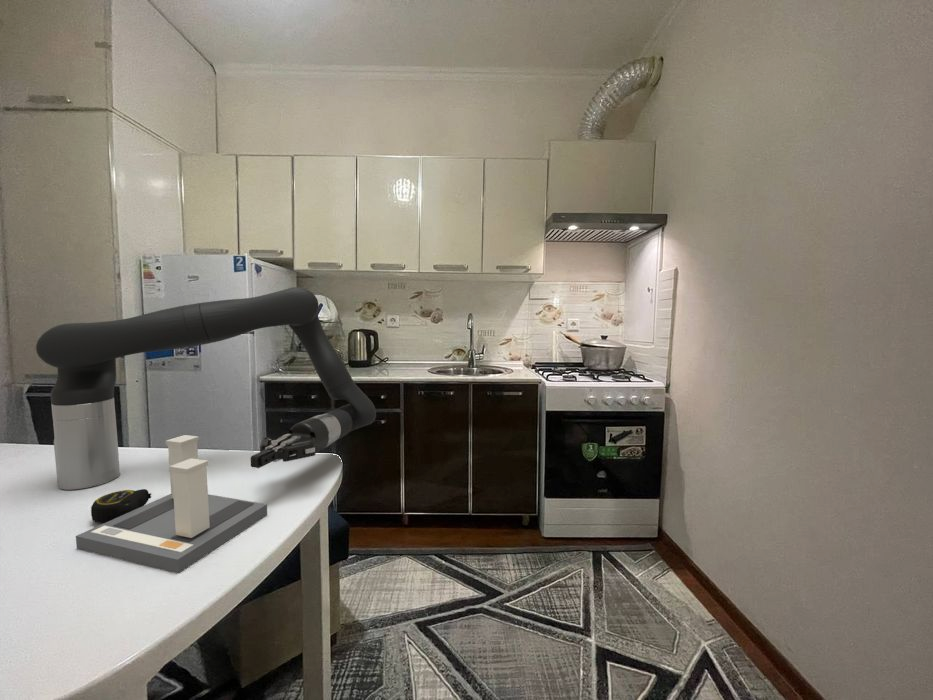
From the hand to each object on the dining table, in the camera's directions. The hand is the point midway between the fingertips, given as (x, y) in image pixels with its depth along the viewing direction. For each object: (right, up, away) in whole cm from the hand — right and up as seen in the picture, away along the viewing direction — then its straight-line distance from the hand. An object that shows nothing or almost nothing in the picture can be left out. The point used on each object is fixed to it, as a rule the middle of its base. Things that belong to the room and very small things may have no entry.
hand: (254, 462), depth 70 cm
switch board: (-8, -9, -7) cm, 14 cm away
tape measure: (-22, -9, -2) cm, 24 cm away
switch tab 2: (-3, -7, -11) cm, 13 cm away
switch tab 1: (-13, -6, 0) cm, 14 cm away
